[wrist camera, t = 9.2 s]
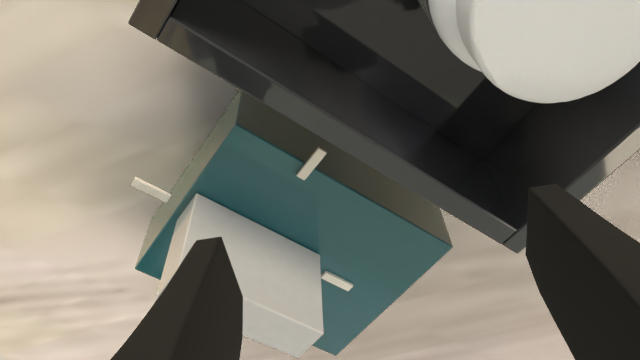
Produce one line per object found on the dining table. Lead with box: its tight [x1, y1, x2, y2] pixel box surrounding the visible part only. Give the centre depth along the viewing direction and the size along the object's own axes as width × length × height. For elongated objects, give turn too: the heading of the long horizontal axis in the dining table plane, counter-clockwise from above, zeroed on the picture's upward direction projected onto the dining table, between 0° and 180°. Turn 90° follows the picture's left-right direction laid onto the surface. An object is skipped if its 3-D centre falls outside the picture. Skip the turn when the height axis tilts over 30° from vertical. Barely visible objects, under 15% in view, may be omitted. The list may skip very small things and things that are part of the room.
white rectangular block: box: [156, 193, 324, 358], centre depth 20 cm, size 6×2×4 cm, turn 55°
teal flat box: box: [131, 90, 453, 355], centre depth 24 cm, size 12×10×3 cm
